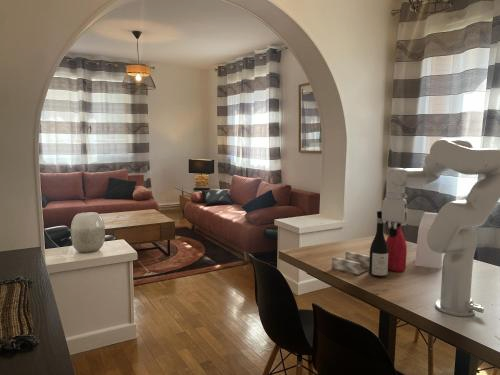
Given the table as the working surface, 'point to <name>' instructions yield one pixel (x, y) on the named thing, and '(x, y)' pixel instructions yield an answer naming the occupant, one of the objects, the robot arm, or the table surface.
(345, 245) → the table surface
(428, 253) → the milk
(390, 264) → the wine bottle
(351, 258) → the cradle
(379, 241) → the wine bottle
